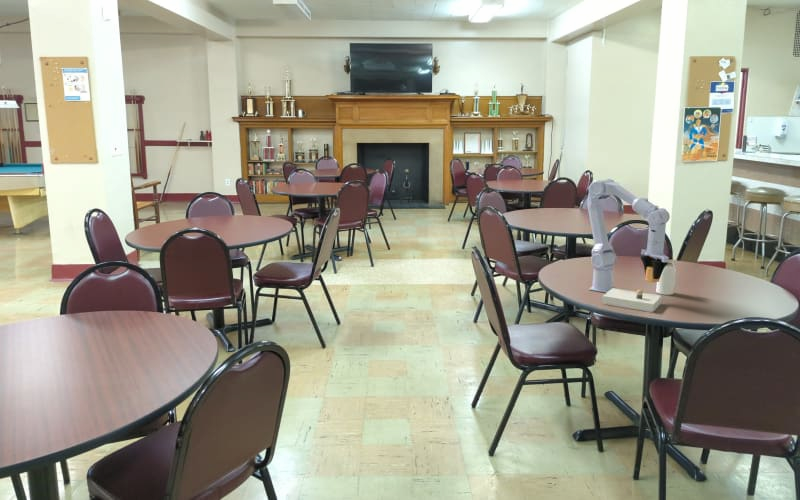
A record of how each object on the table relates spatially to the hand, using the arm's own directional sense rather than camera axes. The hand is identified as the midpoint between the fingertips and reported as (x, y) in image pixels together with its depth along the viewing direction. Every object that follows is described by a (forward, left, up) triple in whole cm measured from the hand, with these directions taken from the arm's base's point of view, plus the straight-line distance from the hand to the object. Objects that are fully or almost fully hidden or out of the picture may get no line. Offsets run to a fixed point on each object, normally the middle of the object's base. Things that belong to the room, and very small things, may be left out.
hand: (652, 277), depth 236 cm
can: (-16, +2, -10) cm, 18 cm away
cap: (0, 0, -1) cm, 1 cm away
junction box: (+7, -5, -9) cm, 13 cm away
